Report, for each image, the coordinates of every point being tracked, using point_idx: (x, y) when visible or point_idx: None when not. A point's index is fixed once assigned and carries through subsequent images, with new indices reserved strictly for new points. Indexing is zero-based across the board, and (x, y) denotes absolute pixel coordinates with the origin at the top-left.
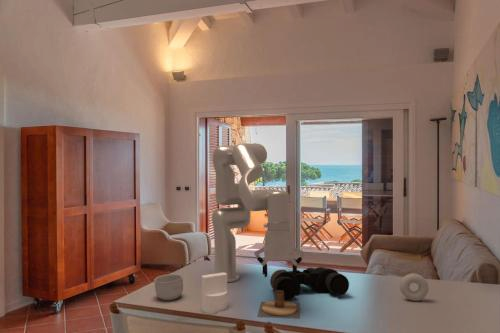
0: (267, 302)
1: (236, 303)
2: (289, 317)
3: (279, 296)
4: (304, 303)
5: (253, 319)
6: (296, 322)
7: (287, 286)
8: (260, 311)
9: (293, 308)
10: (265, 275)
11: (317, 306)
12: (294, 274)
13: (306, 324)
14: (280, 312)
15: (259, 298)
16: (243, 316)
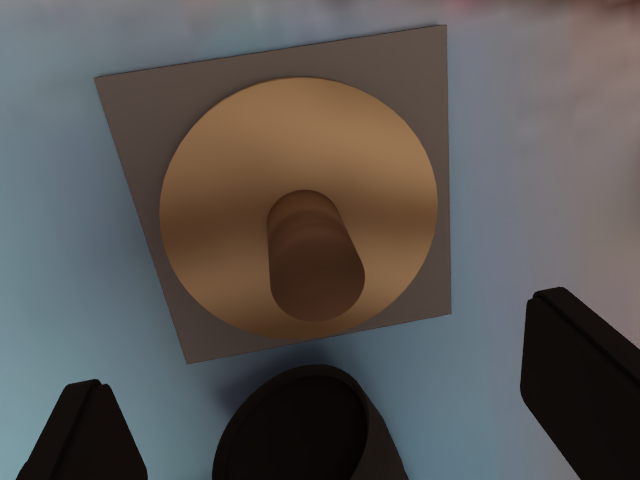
0: (406, 271)
1: (604, 273)
2: (185, 76)
3: (304, 227)
4: (168, 391)
5: (466, 13)
6: (117, 35)
7: (283, 456)
8: (434, 143)
9: (180, 206)
10: (562, 302)
11: (66, 370)
12: (53, 419)
13: (21, 11)
14: (264, 87)
15: (467, 384)
16: (546, 56)
